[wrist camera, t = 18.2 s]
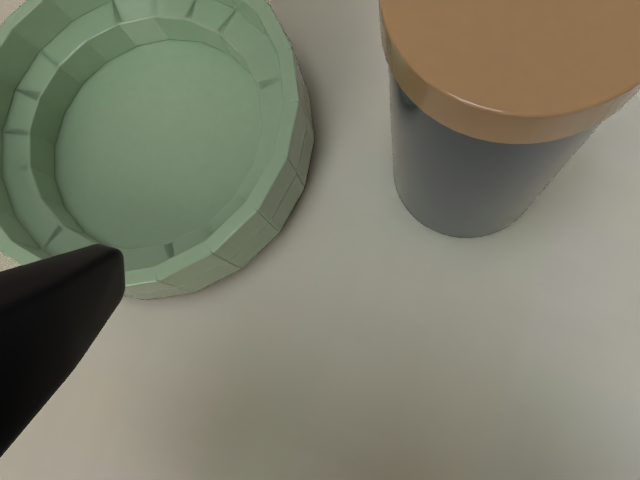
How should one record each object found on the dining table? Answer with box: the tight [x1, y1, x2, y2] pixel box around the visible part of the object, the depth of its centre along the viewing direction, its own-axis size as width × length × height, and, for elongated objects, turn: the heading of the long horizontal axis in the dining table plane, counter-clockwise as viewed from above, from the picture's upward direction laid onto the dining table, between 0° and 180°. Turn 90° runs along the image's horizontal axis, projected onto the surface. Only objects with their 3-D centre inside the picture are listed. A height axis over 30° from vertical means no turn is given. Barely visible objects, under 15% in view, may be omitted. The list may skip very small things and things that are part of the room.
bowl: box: [0, 0, 314, 300], centre depth 23 cm, size 14×14×4 cm
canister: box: [379, 0, 640, 238], centre depth 17 cm, size 6×6×12 cm
